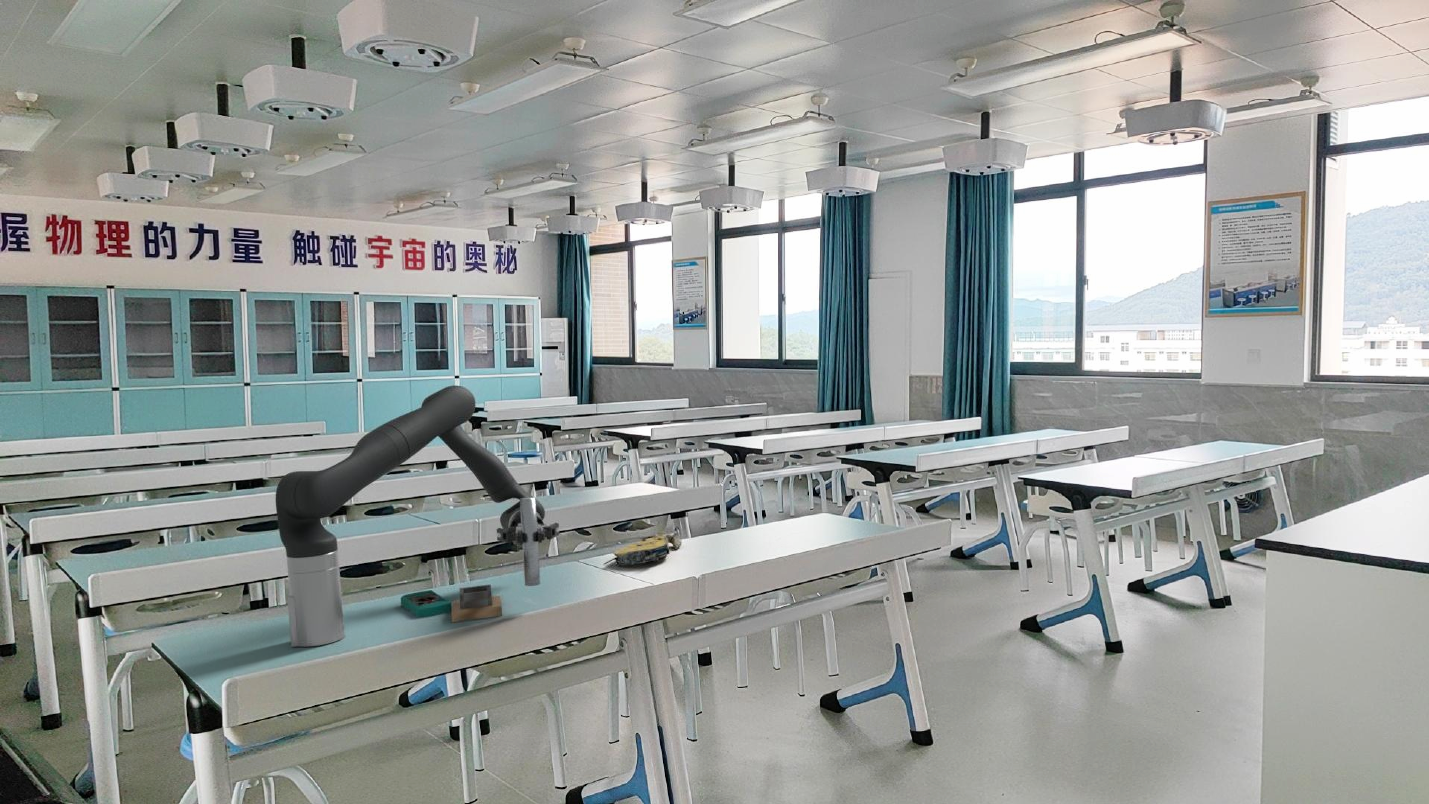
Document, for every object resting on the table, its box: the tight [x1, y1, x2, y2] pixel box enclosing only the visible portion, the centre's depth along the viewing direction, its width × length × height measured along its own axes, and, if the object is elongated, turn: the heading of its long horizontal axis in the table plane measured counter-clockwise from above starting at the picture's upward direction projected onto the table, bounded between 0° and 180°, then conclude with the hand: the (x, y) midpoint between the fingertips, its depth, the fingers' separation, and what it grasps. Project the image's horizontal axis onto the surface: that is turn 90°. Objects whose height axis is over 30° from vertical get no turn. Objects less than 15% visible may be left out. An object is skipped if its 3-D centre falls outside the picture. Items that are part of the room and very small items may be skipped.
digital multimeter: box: [400, 589, 452, 619], centre depth 204 cm, size 7×15×3 cm, turn 33°
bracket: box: [450, 584, 503, 623], centre depth 197 cm, size 10×10×5 cm
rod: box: [519, 496, 541, 587], centre depth 195 cm, size 3×3×18 cm
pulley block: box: [603, 531, 682, 567], centre depth 243 cm, size 14×6×30 cm
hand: (530, 538), depth 193 cm, fingers closed on rod, 3 cm apart
